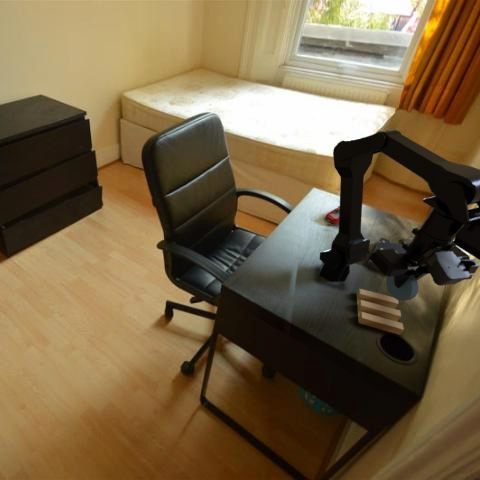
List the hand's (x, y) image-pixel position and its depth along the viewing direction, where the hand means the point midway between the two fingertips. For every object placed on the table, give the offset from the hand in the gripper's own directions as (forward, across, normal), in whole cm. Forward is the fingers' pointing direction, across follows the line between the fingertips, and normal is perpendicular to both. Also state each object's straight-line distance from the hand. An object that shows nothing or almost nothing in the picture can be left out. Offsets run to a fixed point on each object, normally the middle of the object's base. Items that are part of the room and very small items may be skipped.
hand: (400, 286), depth 75 cm
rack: (+13, +1, +2) cm, 13 cm away
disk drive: (+13, +18, +20) cm, 30 cm away
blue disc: (+3, 0, 0) cm, 3 cm away
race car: (+13, +16, +43) cm, 48 cm away
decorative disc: (+13, +32, +26) cm, 43 cm away
